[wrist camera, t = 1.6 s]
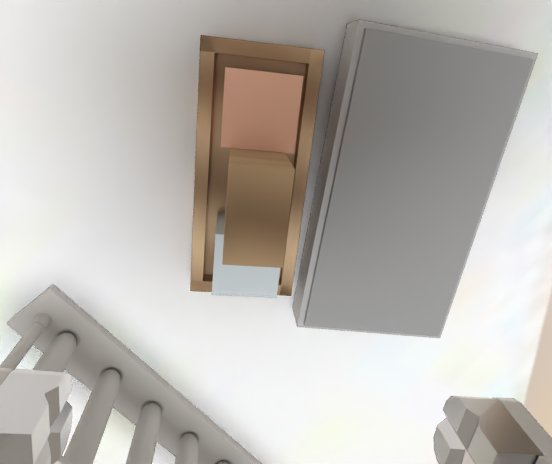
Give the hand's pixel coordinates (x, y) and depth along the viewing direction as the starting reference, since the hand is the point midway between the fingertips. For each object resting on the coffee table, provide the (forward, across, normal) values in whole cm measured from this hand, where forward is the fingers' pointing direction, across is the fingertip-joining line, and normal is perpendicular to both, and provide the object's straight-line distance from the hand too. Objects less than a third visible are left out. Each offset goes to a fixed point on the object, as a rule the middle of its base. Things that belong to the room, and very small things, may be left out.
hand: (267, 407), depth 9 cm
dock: (+21, -10, 0) cm, 23 cm away
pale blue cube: (+20, -1, +4) cm, 20 cm away
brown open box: (+21, 0, 0) cm, 21 cm away
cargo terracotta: (+20, 0, -5) cm, 20 cm away
